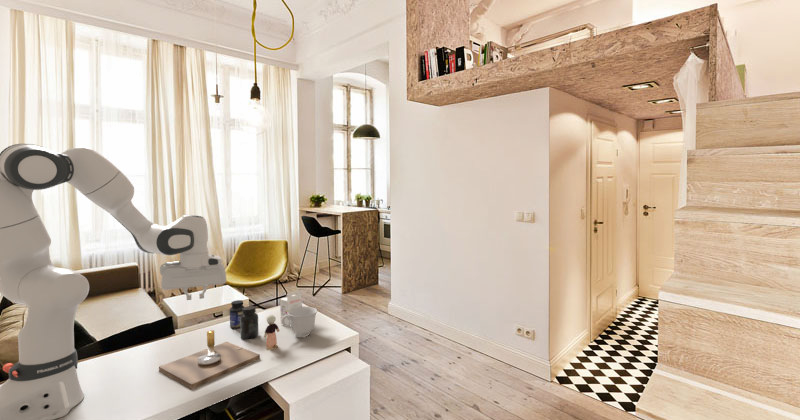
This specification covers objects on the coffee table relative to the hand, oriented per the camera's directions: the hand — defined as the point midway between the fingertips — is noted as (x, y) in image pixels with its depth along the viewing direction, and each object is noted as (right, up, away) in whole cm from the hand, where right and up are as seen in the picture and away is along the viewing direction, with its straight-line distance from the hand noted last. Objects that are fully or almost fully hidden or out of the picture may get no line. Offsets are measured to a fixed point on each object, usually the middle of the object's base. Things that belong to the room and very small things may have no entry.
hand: (195, 298), depth 132 cm
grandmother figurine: (+24, -21, +9) cm, 33 cm away
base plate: (+8, -22, -5) cm, 23 cm away
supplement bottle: (+11, -20, +19) cm, 30 cm away
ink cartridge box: (+24, -19, +35) cm, 47 cm away
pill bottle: (+2, -20, +30) cm, 36 cm away
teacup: (+31, -20, +21) cm, 43 cm away
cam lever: (+6, -19, -2) cm, 20 cm away
